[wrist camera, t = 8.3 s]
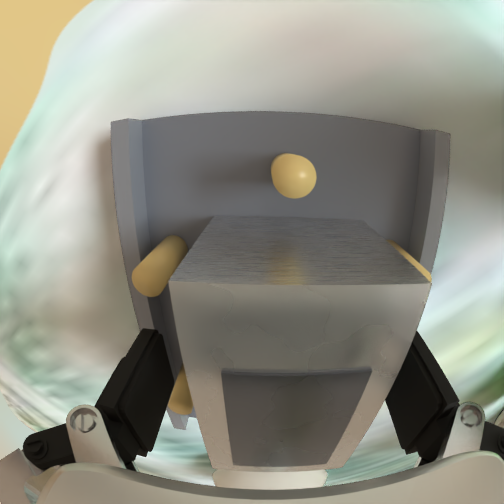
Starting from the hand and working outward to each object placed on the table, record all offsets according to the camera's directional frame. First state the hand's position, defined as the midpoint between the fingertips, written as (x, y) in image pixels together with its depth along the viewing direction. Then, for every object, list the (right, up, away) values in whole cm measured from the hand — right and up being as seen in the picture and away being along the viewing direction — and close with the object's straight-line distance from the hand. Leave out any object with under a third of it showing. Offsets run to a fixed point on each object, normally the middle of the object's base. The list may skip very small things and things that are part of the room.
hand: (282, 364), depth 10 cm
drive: (0, +1, +3) cm, 3 cm away
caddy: (0, +1, +4) cm, 4 cm away
